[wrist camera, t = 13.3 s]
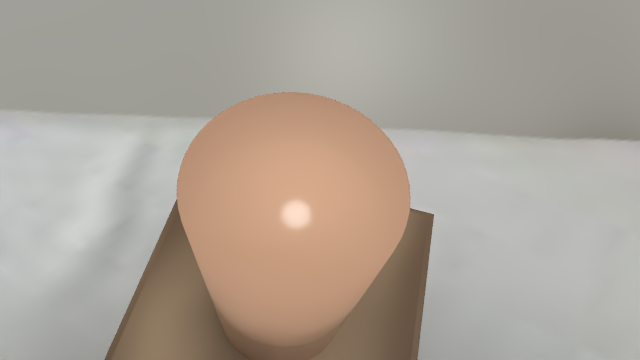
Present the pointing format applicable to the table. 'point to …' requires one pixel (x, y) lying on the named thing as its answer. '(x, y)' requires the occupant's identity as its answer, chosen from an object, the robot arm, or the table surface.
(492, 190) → the table surface
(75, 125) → the table surface
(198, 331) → the walnut box
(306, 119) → the terracotta canister
